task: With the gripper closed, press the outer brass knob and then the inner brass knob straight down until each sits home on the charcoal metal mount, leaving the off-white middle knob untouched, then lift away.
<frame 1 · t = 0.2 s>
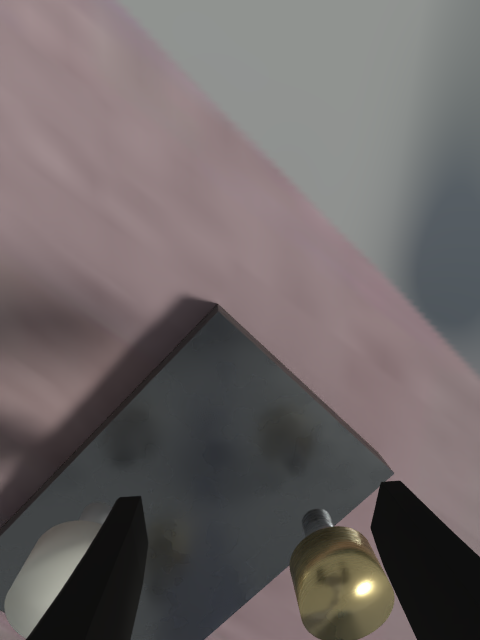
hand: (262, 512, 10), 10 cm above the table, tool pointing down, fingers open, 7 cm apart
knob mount: (180, 502, 22), on the table
outer brass knob: (329, 558, 16), point 6 cm above the table, slide at 0.0 cm
middle white knob: (82, 555, 14), point 6 cm above the table, slide at 0.0 cm
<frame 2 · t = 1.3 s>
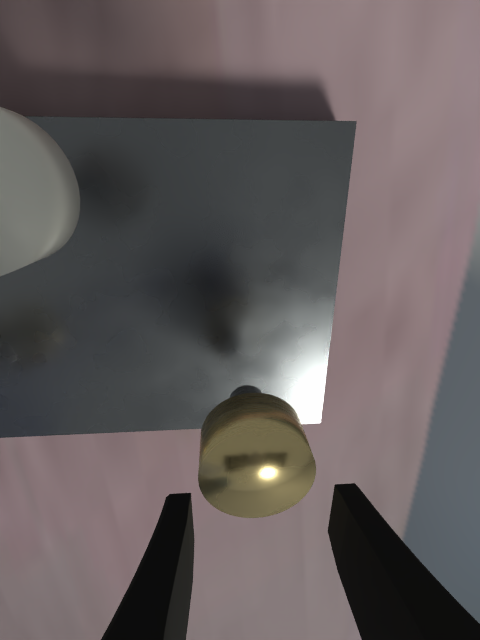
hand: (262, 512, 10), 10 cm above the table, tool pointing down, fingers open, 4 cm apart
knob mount: (106, 291, 17), on the table
outer brass knob: (251, 432, 13), point 6 cm above the table, slide at 0.0 cm
middle white knob: (7, 189, 9), point 6 cm above the table, slide at 0.0 cm
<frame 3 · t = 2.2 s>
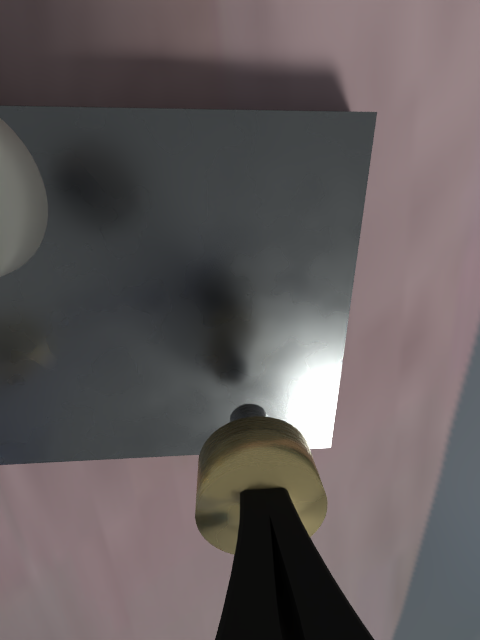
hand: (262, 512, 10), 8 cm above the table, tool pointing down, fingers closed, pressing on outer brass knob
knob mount: (92, 304, 15), on the table
outer brass knob: (254, 458, 12), point 6 cm above the table, slide at 0.6 cm, touching gripper
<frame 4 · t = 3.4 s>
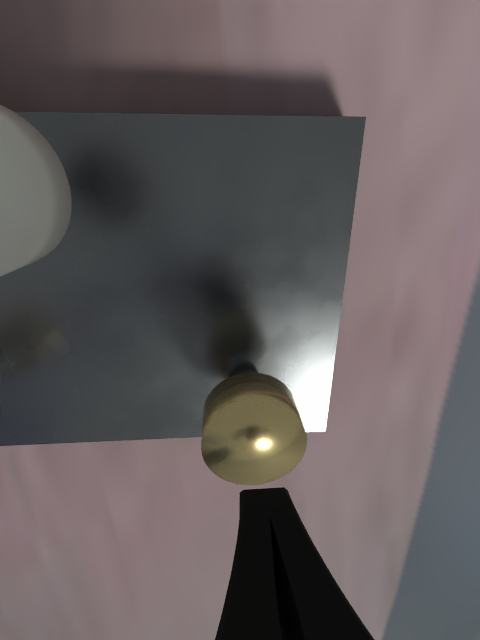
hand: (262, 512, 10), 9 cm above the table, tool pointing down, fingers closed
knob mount: (103, 294, 16), on the table
outer brass knob: (249, 410, 14), point 4 cm above the table, slide at 2.1 cm
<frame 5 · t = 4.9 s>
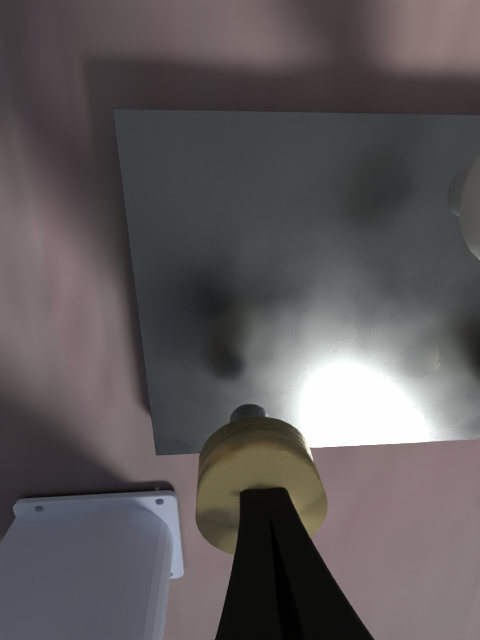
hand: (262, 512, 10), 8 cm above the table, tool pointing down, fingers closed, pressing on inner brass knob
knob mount: (382, 297, 16), on the table
inner brass knob: (254, 458, 12), point 6 cm above the table, slide at 0.5 cm, touching gripper
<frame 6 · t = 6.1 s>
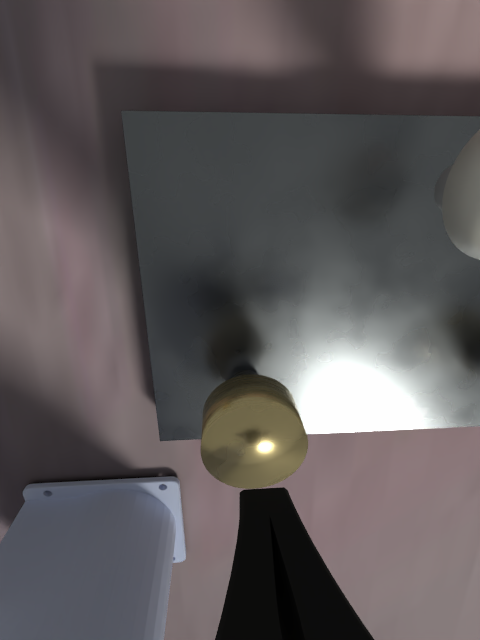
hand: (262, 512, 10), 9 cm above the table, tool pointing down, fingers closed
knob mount: (376, 290, 17), on the table
inner brass knob: (249, 412, 14), point 4 cm above the table, slide at 2.1 cm
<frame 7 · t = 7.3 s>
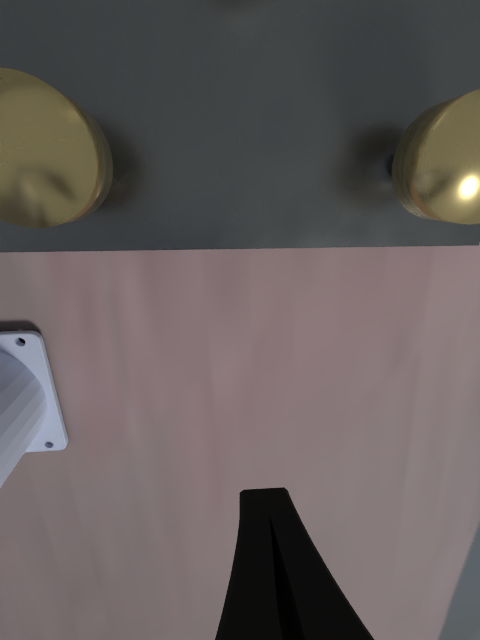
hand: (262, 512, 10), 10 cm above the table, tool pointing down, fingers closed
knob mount: (245, 66, 14), on the table
outer brass knob: (441, 163, 12), point 4 cm above the table, slide at 2.1 cm
inner brass knob: (53, 160, 11), point 4 cm above the table, slide at 2.1 cm
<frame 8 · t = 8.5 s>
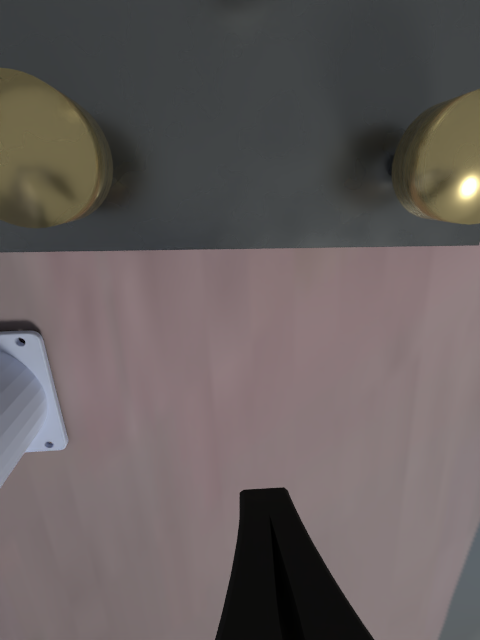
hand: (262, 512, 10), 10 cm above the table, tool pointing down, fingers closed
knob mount: (245, 66, 14), on the table
outer brass knob: (441, 163, 12), point 4 cm above the table, slide at 2.1 cm
inner brass knob: (53, 160, 11), point 4 cm above the table, slide at 2.1 cm
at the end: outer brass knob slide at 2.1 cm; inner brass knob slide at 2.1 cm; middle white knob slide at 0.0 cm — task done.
